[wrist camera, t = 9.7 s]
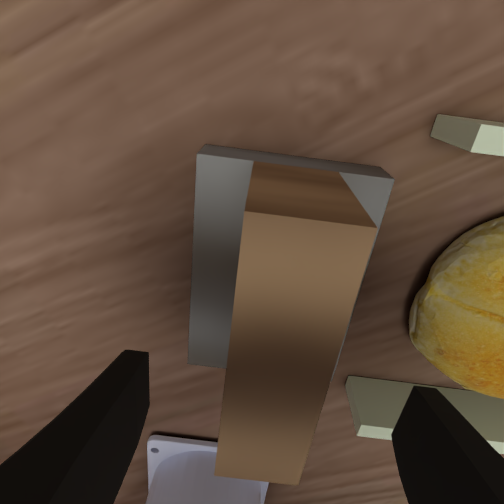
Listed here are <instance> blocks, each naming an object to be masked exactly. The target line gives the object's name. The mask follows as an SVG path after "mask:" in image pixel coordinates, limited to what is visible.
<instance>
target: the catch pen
mask: <svg viewBox="0 0 504 504" xmlns="http://www.w3.org/2000/svg"><path fill="white" fill-rule="evenodd" d="M430 137H433V138H436V139H438V140H441V141H443V142H446V143H449V144H451V145H454V146H456V147H459V148H461V149H464V150H467V151H469V152H475V153H482V154H490V155H497V156H504V123H502V122H495V121H487V120H480V119H472V118H465V117H457V116H450V115H442V114H437V117H436V120H435V123H434V126H433V129H432V132H431V135H430ZM414 385H415V386H423V387H431V388H437V389H438V390H439V391H440V392H441V393H442V394H443V395H444V396H445V397H446V398H447V400H448V401H449V402H450V403H451V404H452V405H453V406H454V407H455V408H456V409H457V410H458V411H459V412H460V413H461V414H462V415H463V416H464V417H465V418H466V419H467V421H468V422H469V423H470V424H471V425H472V426H473V427H474V428H475V429H476V430H477V431H478V432H479V433H480V434H481V435H482V436H483V437H484V439H485V440H486V441H487V442H488V443H489V444H490V445H491V446H492V447H493V448H494V449H495V450H496V451H497V452H498V453H500V454H504V399H501V398H496V397H491V396H488V395H484V394H482V393H477V392H476V391H468V390H460V389H452V388H444V387H436V386H428V385H420V384H413V383H405V382H397V381H389V380H381V379H373V378H365V377H357V376H348V378H347V381H346V384H345V388H346V392H347V396H348V401H349V405H350V409H351V413H352V417H353V422H354V426H355V430H356V434H357V436H362V437H370V438H379V439H387V440H392V437H391V434H392V432H393V429H394V427H395V425H396V423H397V421H398V419H399V416H400V414H401V412H402V410H403V408H404V406H405V403H406V401H407V399H408V397H409V395H410V393H411V390H412V388H413V386H414Z"/></svg>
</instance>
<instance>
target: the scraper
mask: <svg viewBox="0 0 504 504" xmlns="http://www.w3.org/2000/svg"><path fill="white" fill-rule="evenodd" d="M394 180H395V179H394V178H393V177H391V176H390V175H389V174H388V173H387V172H385V171H384V170H383V169H382V168H381V167H376V166H368V165H361V164H353V163H345V162H338V161H330V160H322V159H315V158H307V157H299V156H292V155H284V154H276V153H269V152H261V151H253V150H246V149H238V148H230V147H223V146H215V145H207V144H205V145H204V147H203V148H202V149H201V150H200V151H199V152H198V153H197V162H196V185H195V208H194V231H193V253H192V276H191V299H190V322H189V344H188V364H192V365H200V366H208V367H217V368H225V369H226V376H225V384H224V393H223V402H222V411H221V419H220V428H219V437H218V446H217V454H216V463H215V472H214V476H220V477H229V478H237V479H246V480H254V481H263V482H271V483H280V484H288V485H296V486H298V484H299V481H300V478H301V475H302V472H303V468H304V465H305V462H306V459H307V455H308V452H309V449H310V446H311V442H312V439H313V436H314V433H315V430H316V426H317V423H318V420H319V417H320V413H321V410H322V407H323V404H324V401H325V397H326V394H327V391H328V388H329V384H330V381H332V379H333V376H334V372H335V369H336V366H337V363H338V360H339V356H340V353H341V350H342V347H343V344H344V340H345V337H346V334H347V331H348V328H349V324H350V321H351V318H352V315H353V311H354V308H355V305H356V302H357V299H358V295H359V292H360V289H361V286H362V283H363V279H364V276H365V273H366V270H367V267H368V263H369V260H370V257H371V254H372V251H373V247H374V244H375V241H376V238H377V235H378V231H379V228H380V225H381V222H382V219H383V215H384V212H385V209H386V206H387V203H388V199H389V196H390V193H391V190H392V187H393V183H394Z"/></svg>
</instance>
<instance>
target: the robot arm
mask: <svg viewBox="0 0 504 504" xmlns="http://www.w3.org/2000/svg"><path fill="white" fill-rule="evenodd" d="M149 405H150V401H149V352H142V351H134V350H125V351H123V352H122V353H121V354H120V355H119V356H118V357H117V358H116V359H115V360H114V361H113V362H112V363H111V364H110V365H109V366H108V367H107V368H106V369H105V370H104V371H103V372H102V373H101V374H100V375H99V376H98V377H97V378H96V379H95V380H94V381H93V382H92V383H91V384H90V385H89V386H88V387H87V388H86V389H85V390H84V391H83V392H82V393H81V394H80V395H79V396H78V397H77V398H76V399H75V400H74V401H73V402H72V403H71V404H69V405H68V406H67V407H66V408H65V409H64V410H63V411H62V412H61V413H60V414H59V415H58V416H57V417H56V418H54V419H53V420H52V421H51V422H50V423H49V424H48V425H47V426H45V427H44V428H43V429H42V430H41V431H40V432H38V433H37V434H36V435H35V436H34V437H33V438H32V439H30V440H29V441H28V442H27V443H26V444H25V445H23V446H22V447H21V448H20V449H19V450H18V451H16V452H15V453H14V454H13V455H12V456H10V457H9V458H8V459H7V460H6V461H4V462H3V463H2V464H1V465H0V504H113V503H114V501H115V499H116V496H117V494H118V491H119V489H120V487H121V484H122V482H123V479H124V477H125V475H126V472H127V470H128V467H129V465H130V462H131V460H132V458H133V455H134V453H135V450H136V448H137V445H138V442H139V439H140V436H141V433H142V429H143V426H144V423H145V419H146V416H147V412H148V409H149ZM391 437H392V442H393V447H394V452H395V457H396V462H397V466H398V470H399V475H400V478H401V482H402V485H403V488H404V491H405V494H406V497H407V500H408V503H409V504H504V458H503V457H502V456H501V455H500V454H499V453H498V452H497V451H496V450H495V449H494V448H493V447H492V446H491V445H490V444H489V443H488V442H487V441H486V440H485V439H484V437H483V436H482V435H481V434H480V433H479V432H478V431H477V430H476V429H475V428H474V427H473V426H472V425H471V424H470V423H469V422H468V421H467V419H466V418H465V417H464V416H463V415H462V414H461V413H460V412H459V411H458V410H457V409H456V408H455V407H454V406H453V405H452V404H451V403H450V402H449V401H448V400H447V398H446V397H445V396H444V395H443V394H442V393H441V392H440V391H439V390H438V389H437V388H431V387H423V386H415V385H414V386H413V388H412V390H411V393H410V395H409V397H408V399H407V401H406V403H405V406H404V408H403V410H402V412H401V414H400V416H399V419H398V421H397V423H396V425H395V427H394V429H393V432H392V434H391ZM217 446H218V442H211V441H203V440H194V439H186V438H178V437H170V436H162V435H152V436H150V437H149V439H148V442H147V458H148V490H149V493H148V497H147V500H146V504H264V501H265V496H266V492H267V488H268V484H269V482H263V481H254V480H246V479H237V478H229V477H220V476H214V472H215V463H216V454H217Z"/></svg>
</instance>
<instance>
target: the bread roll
mask: <svg viewBox="0 0 504 504" xmlns="http://www.w3.org/2000/svg"><path fill="white" fill-rule="evenodd" d="M409 336H410V339H411V342H412V343H413V345H414V346H415V347H416V348H417V350H418V351H420V352H421V353H422V354H423V355H424V356H425V357H426V359H427V360H428V361H429V362H430V363H432V364H433V365H434V366H435V367H436V368H438V369H439V370H440V371H441V372H442V373H444V374H445V375H446V376H448V377H450V378H451V379H452V380H453V381H454V382H457V383H459V384H460V385H461V386H462V387H464V388H465V389H468V390H473V391H476V392H477V393H482V394H484V395H488V396H491V397H496V398H501V399H504V216H502V217H499V218H497V219H494V220H491V221H488V222H486V223H483V224H481V225H479V226H477V227H475V228H473V229H471V230H469V231H468V232H466V233H464V234H463V235H461V236H460V237H459V238H458V239H456V240H455V241H454V242H453V243H452V244H451V245H450V246H449V247H448V248H447V249H446V250H445V251H444V252H443V253H442V254H441V255H440V256H439V257H438V259H437V260H436V261H435V263H434V264H433V266H432V267H431V270H430V273H429V275H428V278H427V281H426V283H425V284H424V286H423V287H422V288H421V289H420V290H419V291H418V293H417V294H416V296H415V298H414V301H413V304H412V306H411V310H410V316H409Z"/></svg>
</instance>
